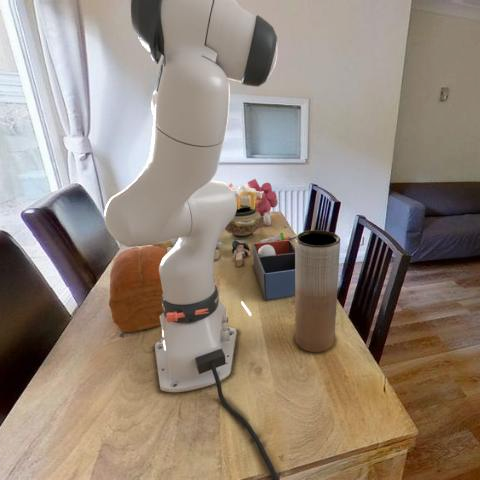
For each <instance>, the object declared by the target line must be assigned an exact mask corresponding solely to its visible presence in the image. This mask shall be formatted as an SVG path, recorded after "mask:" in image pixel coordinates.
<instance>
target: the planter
mask: <svg viewBox="0 0 480 480" xmlns="http://www.w3.org/2000/svg"><path fill="white" fill-rule="evenodd" d="M297 234H298V235H297ZM297 234H296V235H297V236H296V237H294V238H295V240H294V242H295V243H294V246H295V296H294V298H295V299H294V306H295V307H294V308H295V309H294V315H295V319H294V320H295V321H294V330H295V331H294V332H295V333H294V335H295V336H294V338H295V342H296V344H297V346H298V347H299V348H300V349H301V350H304V351H306V352H309V353H321V352H325V351H327V350H328V349H330V348H331V347H333V345H334V343H335V337H336V336H335V334H336V318H337V303H338V285H339V270H340V269H339V268H340V254H341V253H340V250H341V238H340V236H339V235H338V234H336V233H334V232H331V231H329V230H320V229H314V230H313V229H311V230H306V231H302V232H300V233H297Z"/></svg>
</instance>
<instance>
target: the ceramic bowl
mask: <svg viewBox="0 0 480 480" xmlns="http://www.w3.org/2000/svg"><path fill="white" fill-rule="evenodd" d="M262 220H263V217H261V215H260V214H259V213H258V212H257V211H256V207H255V209H251V207H247V208H240V209H237V210H236V214H235V216H234V218H233V220H232V221H231V222H230V223H229V224H228V225H227V226H226V228H225V229H224V231H225V232H227V233H229V234H231V237H232V238H235V239H242V240H244V239H249V238H251V237H252V236H254V233H255V232H256V231H258V229H259V228H260V226H261V225H262Z"/></svg>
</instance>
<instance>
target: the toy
mask: <svg viewBox="0 0 480 480" xmlns="http://www.w3.org/2000/svg"><path fill="white" fill-rule="evenodd" d="M247 186H249V188H254V189H256V191H259V192H262V191H264V193H263V194H262V198H261V199H260V197H259V198H258V197H257V198H256V199H257V200H259V201H261V202H259V201H257V202H256V203H257V204H256V203H255V205H257V206H255V207H256V211H257V212H258V213H259V214H260V215H261V218H263V222H264V224H265V225H266V226H269V227H270V226H271V224H272V221H271V220H272V216H271V213H270V212H271V210H272V208H276V207H277V205H278V203H279V201H278V196H277V193H276V192H275V191H273V189H272V185H271V183H270V182H264V183H263V184H262V185H261V186H260V184H259V182H258V181H257V179H256V178H253V179H251V180H249V181H247Z"/></svg>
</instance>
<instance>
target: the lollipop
mask: <svg viewBox="0 0 480 480" xmlns="http://www.w3.org/2000/svg"><path fill="white" fill-rule="evenodd" d="M272 255H275V250H274V248H273V247H272V246H271V245H264V246H262V247H261V248H260V249H259V251H258V256H259V257H263V256H272Z"/></svg>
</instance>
